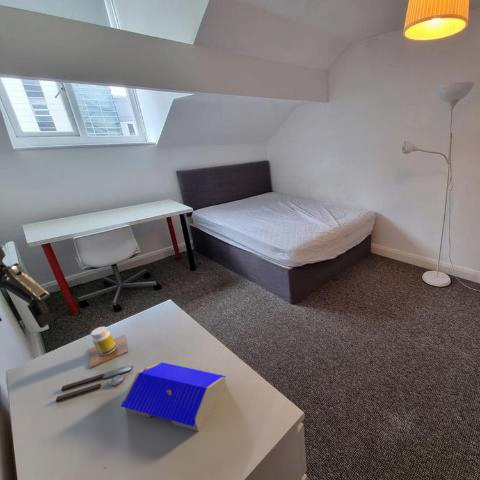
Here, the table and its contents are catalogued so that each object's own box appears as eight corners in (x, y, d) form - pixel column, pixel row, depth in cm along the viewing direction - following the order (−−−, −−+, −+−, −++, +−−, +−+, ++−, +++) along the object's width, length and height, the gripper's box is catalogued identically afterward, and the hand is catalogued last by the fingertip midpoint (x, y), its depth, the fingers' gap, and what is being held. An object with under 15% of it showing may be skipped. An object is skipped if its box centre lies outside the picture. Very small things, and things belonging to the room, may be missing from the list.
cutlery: (54, 405, 73) (53, 403, 72) (64, 386, 78) (63, 384, 78) (128, 382, 78) (127, 380, 78) (132, 365, 84) (131, 363, 83)
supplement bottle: (120, 345, 91) (111, 325, 88) (108, 356, 87) (99, 336, 84) (107, 344, 92) (98, 325, 88) (95, 355, 88) (85, 335, 84)
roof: (124, 414, 70) (114, 395, 67) (164, 369, 82) (157, 351, 79) (196, 434, 64) (189, 415, 61) (228, 383, 77) (223, 365, 74)
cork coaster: (89, 349, 90) (89, 348, 90) (124, 335, 96) (124, 334, 96) (89, 368, 83) (89, 367, 83) (127, 352, 89) (127, 351, 89)
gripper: (-109, 255, 55) (-47, 335, 63) (7, 253, 53) (54, 335, 62) (-60, 240, 61) (-10, 314, 70) (44, 238, 60) (81, 313, 69)
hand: (20, 324), depth 66 cm, fingers open, 13 cm apart
